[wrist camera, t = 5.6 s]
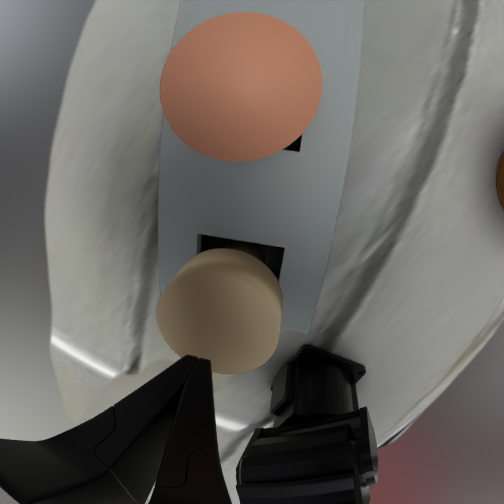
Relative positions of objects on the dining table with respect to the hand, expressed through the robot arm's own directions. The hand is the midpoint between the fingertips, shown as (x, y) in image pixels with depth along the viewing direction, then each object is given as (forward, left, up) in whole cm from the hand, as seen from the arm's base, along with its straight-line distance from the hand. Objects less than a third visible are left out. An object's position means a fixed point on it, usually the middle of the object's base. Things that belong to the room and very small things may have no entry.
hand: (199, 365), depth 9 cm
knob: (0, 0, -10) cm, 10 cm away
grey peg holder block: (+3, -8, -12) cm, 15 cm away
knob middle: (+3, -8, -10) cm, 13 cm away
